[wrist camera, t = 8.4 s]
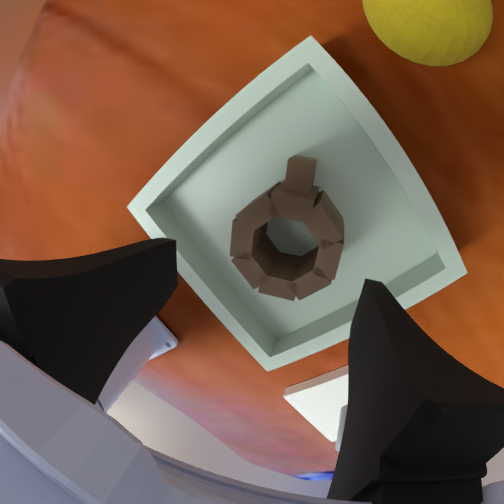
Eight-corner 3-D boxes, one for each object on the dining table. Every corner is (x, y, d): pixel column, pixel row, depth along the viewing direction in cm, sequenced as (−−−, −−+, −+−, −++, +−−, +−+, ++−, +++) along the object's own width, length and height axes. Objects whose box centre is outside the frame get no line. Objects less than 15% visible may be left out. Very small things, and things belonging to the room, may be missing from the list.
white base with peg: (332, 433, 24) (325, 475, 20) (285, 387, 23) (271, 433, 19) (411, 408, 21) (413, 454, 16) (374, 353, 19) (374, 405, 15)
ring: (330, 280, 17) (326, 308, 15) (244, 260, 19) (227, 284, 16) (355, 167, 14) (358, 176, 12) (256, 148, 16) (238, 154, 13)
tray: (275, 348, 22) (267, 371, 19) (149, 196, 19) (126, 207, 17) (454, 254, 15) (467, 273, 13) (315, 48, 13) (310, 35, 11)
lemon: (463, 20, 9) (527, -30, 2) (438, 95, 12) (510, 79, 5) (373, -24, 10) (383, -106, 3) (345, 49, 13) (344, -13, 6)
